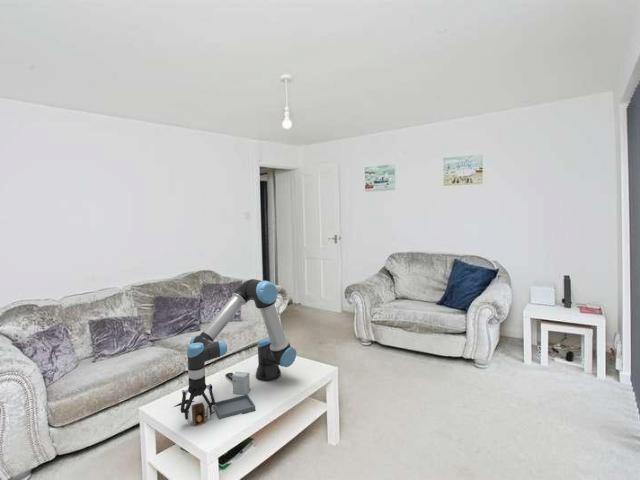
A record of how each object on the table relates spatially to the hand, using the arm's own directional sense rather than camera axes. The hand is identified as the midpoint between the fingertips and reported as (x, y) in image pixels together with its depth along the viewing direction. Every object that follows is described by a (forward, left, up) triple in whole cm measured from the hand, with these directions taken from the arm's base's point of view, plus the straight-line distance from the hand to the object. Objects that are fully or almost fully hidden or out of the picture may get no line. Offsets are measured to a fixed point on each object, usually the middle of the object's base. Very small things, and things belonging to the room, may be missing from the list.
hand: (198, 422), depth 174 cm
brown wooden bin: (0, 0, 0) cm, 0 cm away
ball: (0, -1, +1) cm, 1 cm away
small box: (-26, -20, -1) cm, 33 cm away
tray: (-18, -4, 0) cm, 18 cm away
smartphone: (+7, -19, -1) cm, 20 cm away
